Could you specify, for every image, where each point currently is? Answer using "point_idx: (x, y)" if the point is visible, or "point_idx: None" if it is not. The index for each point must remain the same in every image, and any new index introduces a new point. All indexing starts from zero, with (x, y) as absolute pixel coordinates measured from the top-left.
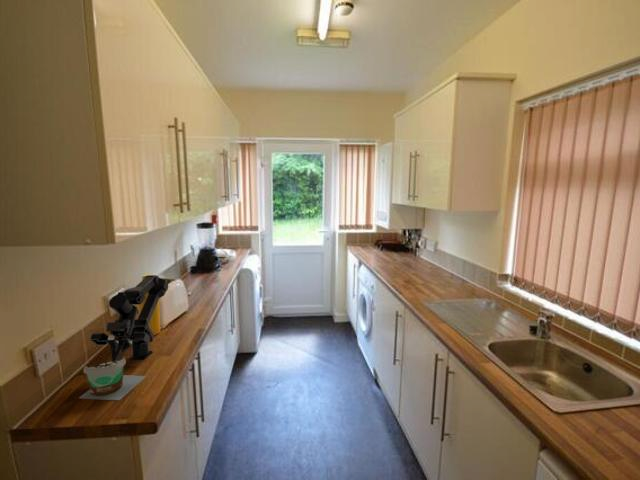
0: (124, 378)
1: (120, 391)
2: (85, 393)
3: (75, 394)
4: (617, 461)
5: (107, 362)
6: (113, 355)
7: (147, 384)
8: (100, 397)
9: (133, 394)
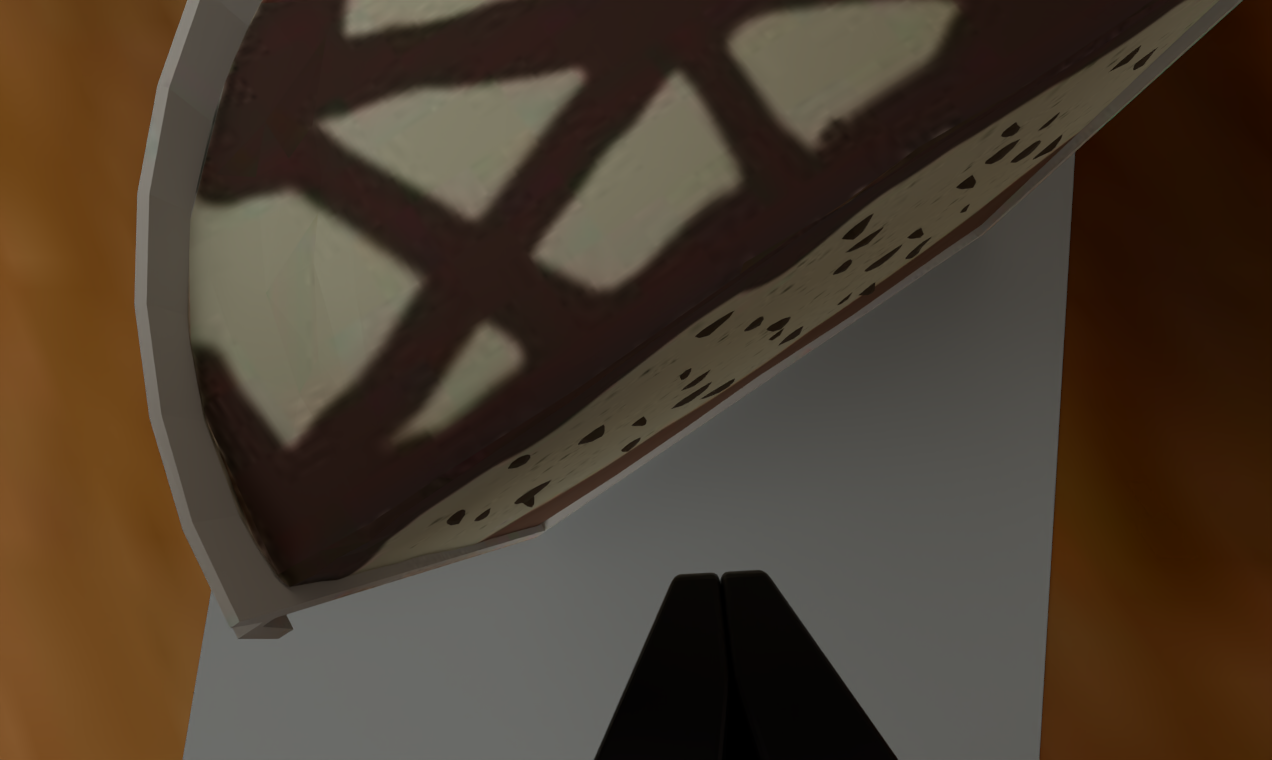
0: None
1: None
2: (1053, 196)
3: (1234, 192)
4: None
5: (724, 178)
6: (778, 727)
7: (42, 523)
8: None
9: None
